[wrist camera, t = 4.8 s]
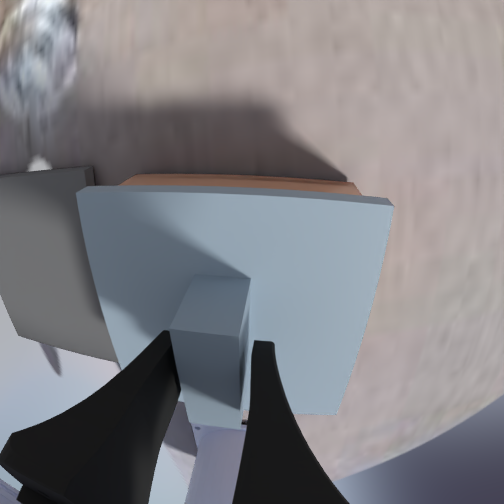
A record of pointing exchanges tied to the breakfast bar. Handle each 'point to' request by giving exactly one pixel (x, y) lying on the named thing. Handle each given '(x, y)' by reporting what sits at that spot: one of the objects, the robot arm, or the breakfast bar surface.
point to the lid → (238, 285)
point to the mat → (50, 262)
